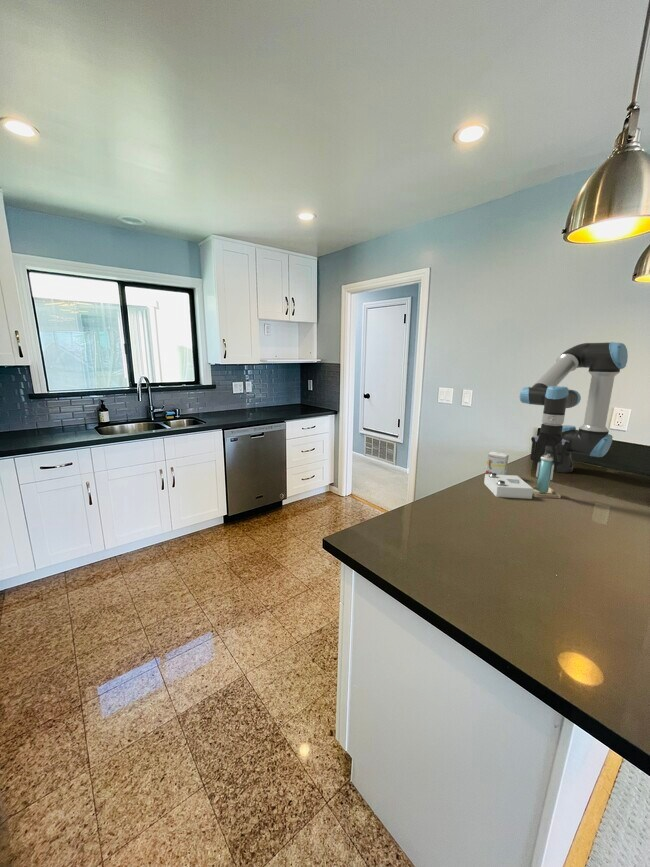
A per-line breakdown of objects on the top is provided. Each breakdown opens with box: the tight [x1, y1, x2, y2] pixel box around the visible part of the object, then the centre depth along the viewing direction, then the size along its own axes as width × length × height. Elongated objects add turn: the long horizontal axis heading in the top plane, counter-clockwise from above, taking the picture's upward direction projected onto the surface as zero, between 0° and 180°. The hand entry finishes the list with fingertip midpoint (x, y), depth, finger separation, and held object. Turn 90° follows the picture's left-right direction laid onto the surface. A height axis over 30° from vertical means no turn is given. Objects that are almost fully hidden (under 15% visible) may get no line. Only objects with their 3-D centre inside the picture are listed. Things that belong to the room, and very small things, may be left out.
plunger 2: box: [498, 480, 505, 486], centre depth 148 cm, size 3×3×5 cm
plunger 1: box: [490, 473, 497, 478], centre depth 158 cm, size 3×3×5 cm
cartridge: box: [536, 454, 554, 492], centre depth 149 cm, size 5×5×16 cm
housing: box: [483, 473, 533, 500], centre depth 153 cm, size 16×14×5 cm
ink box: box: [485, 451, 509, 475], centre depth 171 cm, size 9×5×12 cm, turn 50°
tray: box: [530, 485, 561, 499], centre depth 151 cm, size 10×10×2 cm
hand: (544, 477), depth 149 cm, fingers closed on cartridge, 4 cm apart
